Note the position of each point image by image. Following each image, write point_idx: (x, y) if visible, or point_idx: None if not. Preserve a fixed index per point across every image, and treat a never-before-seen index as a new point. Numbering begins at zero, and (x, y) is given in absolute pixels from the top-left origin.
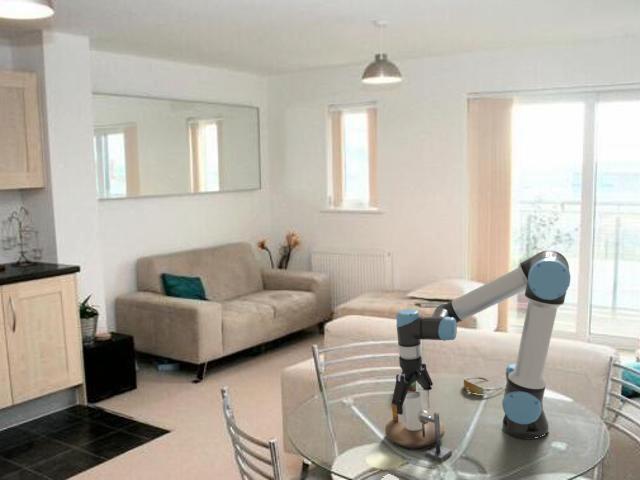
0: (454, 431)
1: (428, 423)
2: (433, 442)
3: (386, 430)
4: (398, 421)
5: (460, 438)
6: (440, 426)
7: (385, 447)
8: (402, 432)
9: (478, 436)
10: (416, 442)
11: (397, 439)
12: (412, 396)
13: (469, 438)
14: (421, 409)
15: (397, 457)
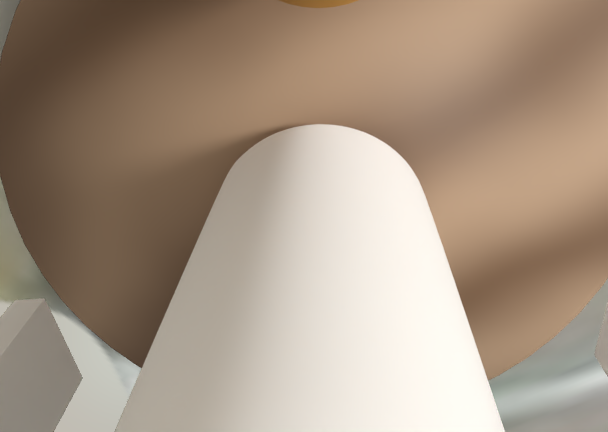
0: (600, 304)
1: (481, 260)
2: None
3: (24, 24)
4: (14, 301)
5: (518, 374)
6: (484, 358)
7: None
8: (151, 195)
9: (598, 424)
10: (142, 362)
11: (27, 244)
12: None
13: (546, 405)
14: None
15: (16, 247)
